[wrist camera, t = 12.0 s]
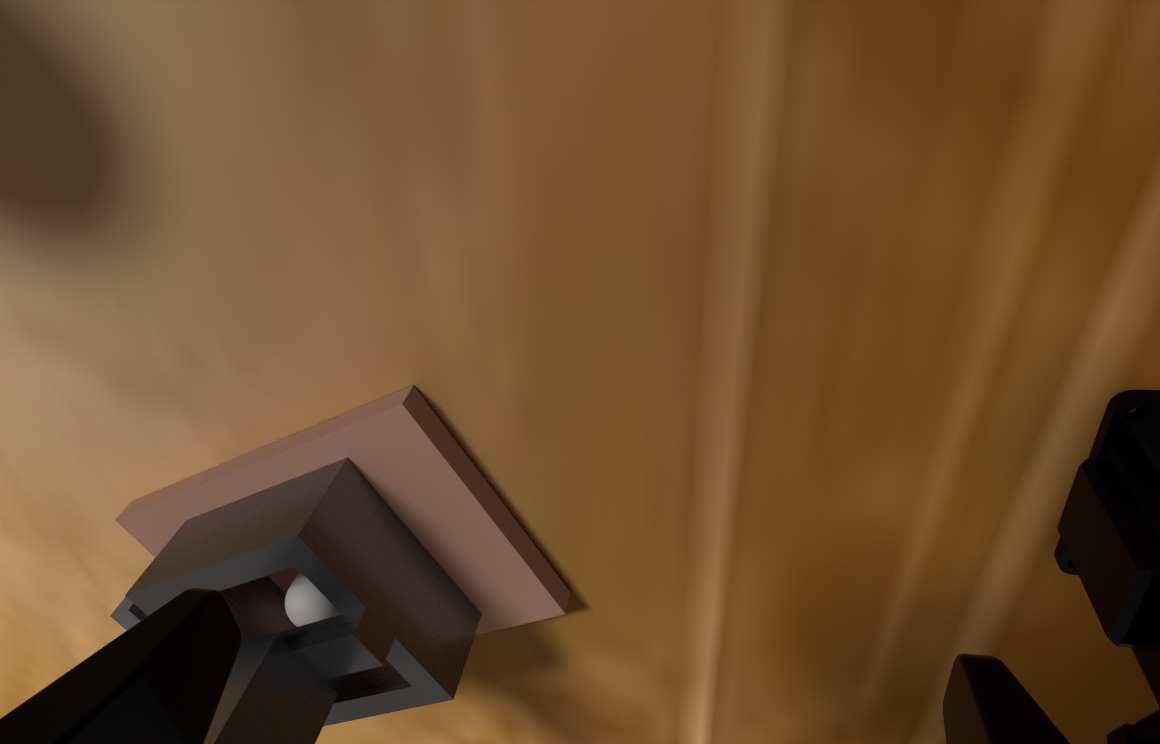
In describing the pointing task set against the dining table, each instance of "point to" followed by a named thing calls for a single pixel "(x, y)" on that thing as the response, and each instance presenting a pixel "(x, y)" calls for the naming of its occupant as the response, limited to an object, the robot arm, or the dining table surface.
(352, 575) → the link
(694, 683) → the dining table surface
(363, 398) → the dining table surface
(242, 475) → the plate
